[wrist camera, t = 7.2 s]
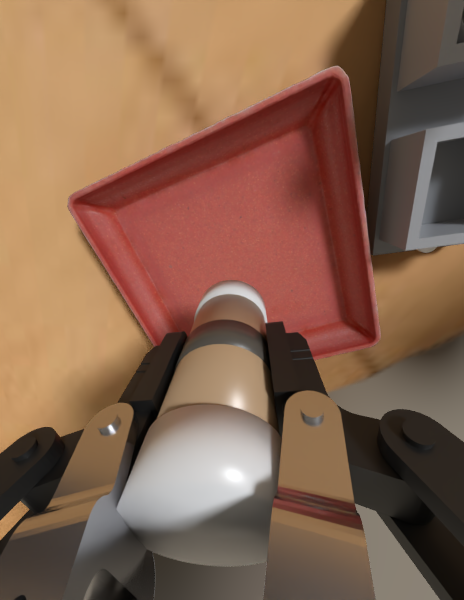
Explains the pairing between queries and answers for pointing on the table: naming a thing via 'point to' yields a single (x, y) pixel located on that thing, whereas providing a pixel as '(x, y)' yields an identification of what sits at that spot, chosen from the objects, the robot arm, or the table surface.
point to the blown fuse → (212, 442)
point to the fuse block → (418, 130)
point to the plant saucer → (247, 220)
